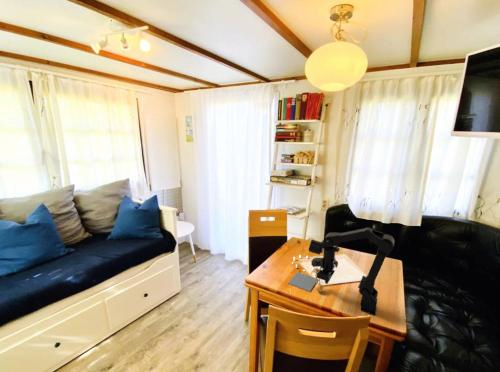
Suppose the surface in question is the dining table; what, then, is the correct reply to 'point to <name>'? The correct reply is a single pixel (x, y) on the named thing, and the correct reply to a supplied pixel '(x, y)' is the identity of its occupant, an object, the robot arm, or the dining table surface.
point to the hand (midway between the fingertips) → (326, 283)
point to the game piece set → (306, 257)
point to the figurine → (318, 286)
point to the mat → (303, 281)
